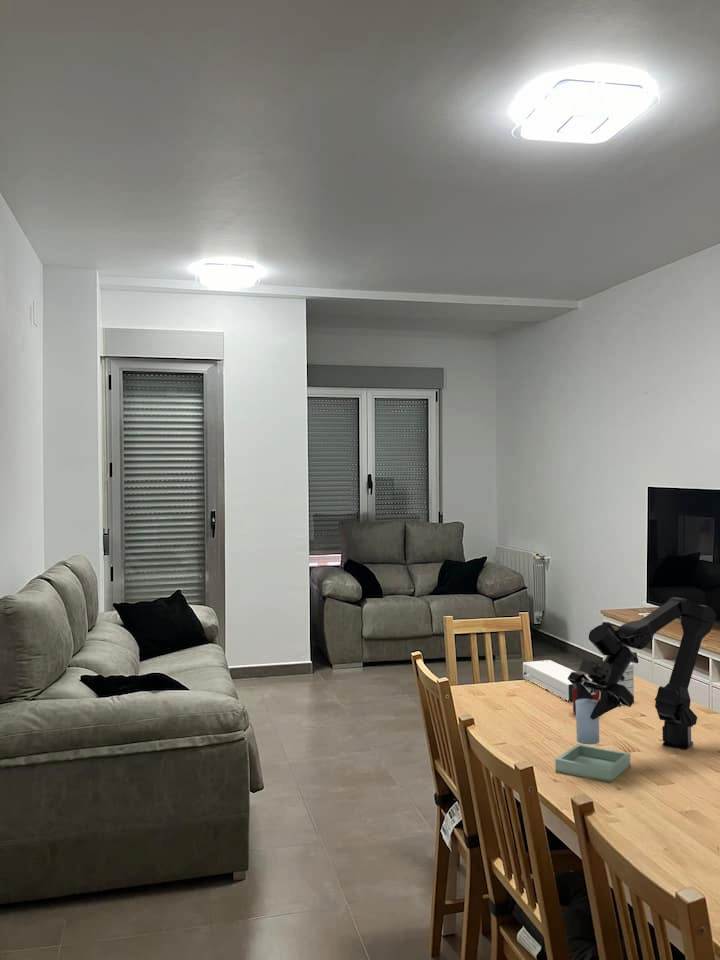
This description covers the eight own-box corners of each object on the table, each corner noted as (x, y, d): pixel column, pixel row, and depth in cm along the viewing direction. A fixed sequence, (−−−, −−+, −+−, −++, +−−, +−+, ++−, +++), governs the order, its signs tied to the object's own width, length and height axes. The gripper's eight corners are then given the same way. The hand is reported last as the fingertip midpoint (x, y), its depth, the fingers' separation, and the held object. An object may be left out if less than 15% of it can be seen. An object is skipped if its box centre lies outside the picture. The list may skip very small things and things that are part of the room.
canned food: (570, 716, 256) (569, 680, 256) (576, 709, 263) (575, 674, 263) (595, 719, 253) (595, 682, 253) (601, 711, 260) (600, 676, 260)
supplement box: (601, 700, 273) (600, 661, 273) (619, 697, 276) (618, 658, 276) (617, 705, 266) (616, 666, 266) (635, 702, 269) (634, 663, 269)
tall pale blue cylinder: (599, 738, 214) (598, 699, 214) (599, 745, 209) (597, 705, 209) (577, 736, 216) (576, 698, 216) (575, 743, 211) (574, 704, 210)
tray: (630, 765, 213) (630, 753, 213) (609, 782, 202) (609, 770, 202) (578, 755, 221) (577, 743, 221) (555, 771, 210) (555, 759, 210)
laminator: (599, 700, 274) (599, 681, 274) (566, 703, 271) (565, 684, 271) (550, 676, 307) (550, 659, 307) (519, 679, 304) (519, 662, 304)
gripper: (571, 641, 222) (540, 688, 217) (624, 653, 206) (591, 705, 201) (595, 666, 226) (564, 713, 221) (648, 680, 209) (617, 732, 204)
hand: (583, 715), depth 212 cm, fingers closed on tall pale blue cylinder, 6 cm apart
